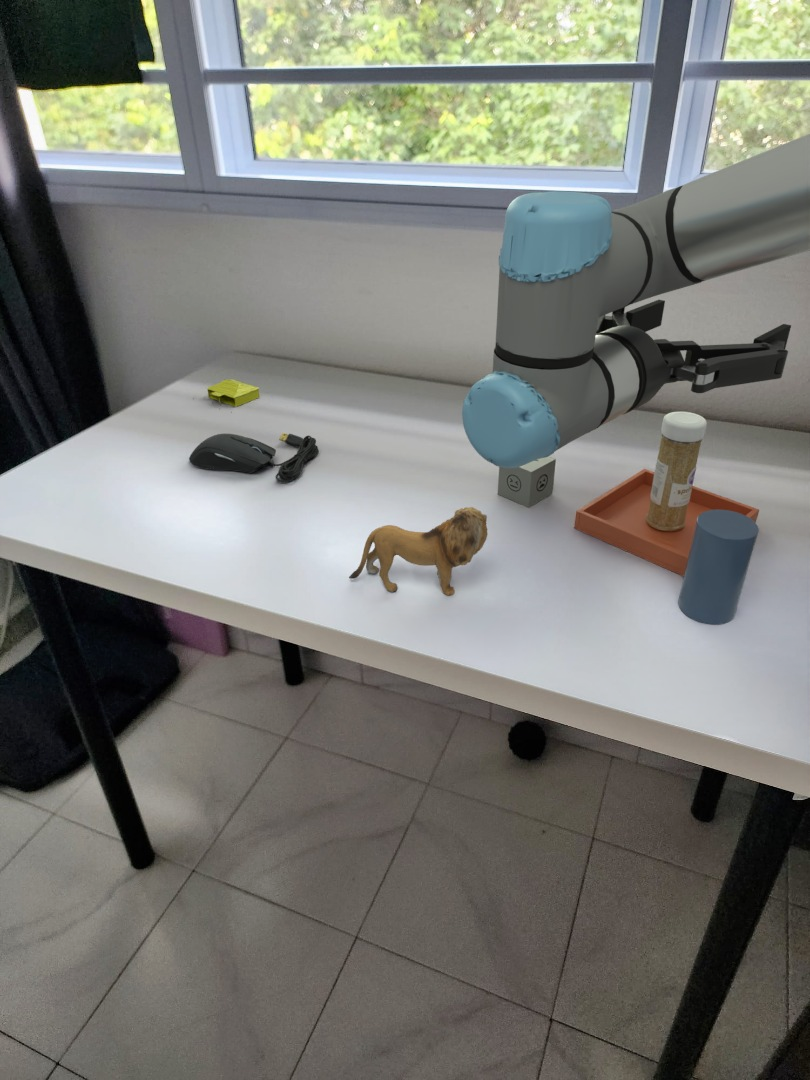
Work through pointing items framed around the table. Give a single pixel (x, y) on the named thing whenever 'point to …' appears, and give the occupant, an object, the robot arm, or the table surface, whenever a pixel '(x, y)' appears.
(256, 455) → the computer mouse
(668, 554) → the tray
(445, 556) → the lion figurine
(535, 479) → the dice cube
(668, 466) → the spice jar
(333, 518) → the table surface
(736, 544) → the blue can
